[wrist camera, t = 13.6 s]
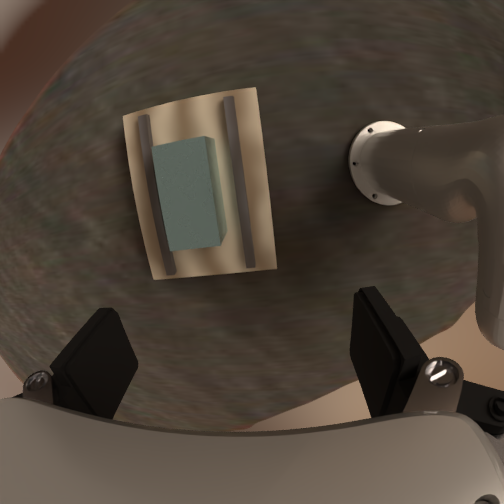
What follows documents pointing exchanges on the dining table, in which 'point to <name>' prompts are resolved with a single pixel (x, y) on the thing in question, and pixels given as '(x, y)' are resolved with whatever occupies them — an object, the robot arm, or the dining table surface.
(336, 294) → the dining table surface
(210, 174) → the housing
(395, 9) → the dining table surface
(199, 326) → the dining table surface
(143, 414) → the dining table surface
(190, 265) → the stand
